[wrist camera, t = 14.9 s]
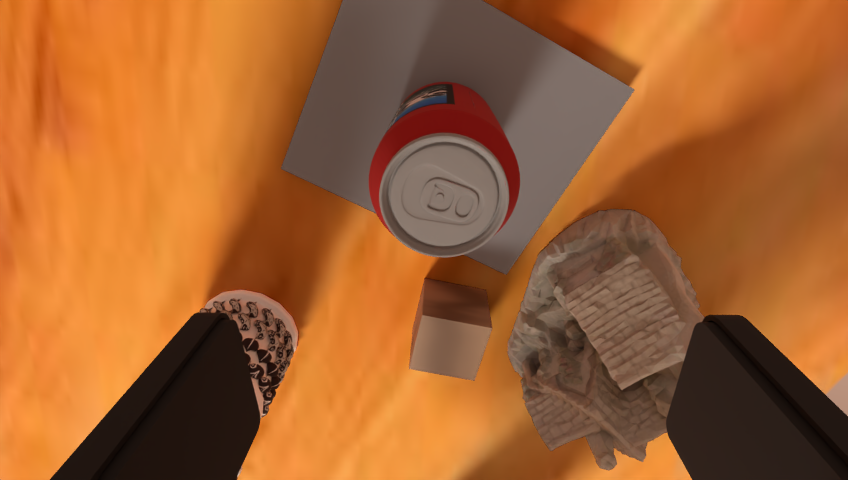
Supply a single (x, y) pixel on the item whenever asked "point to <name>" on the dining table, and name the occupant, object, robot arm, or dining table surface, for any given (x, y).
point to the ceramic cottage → (604, 335)
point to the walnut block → (450, 329)
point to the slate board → (464, 64)
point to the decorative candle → (260, 338)
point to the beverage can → (444, 172)
